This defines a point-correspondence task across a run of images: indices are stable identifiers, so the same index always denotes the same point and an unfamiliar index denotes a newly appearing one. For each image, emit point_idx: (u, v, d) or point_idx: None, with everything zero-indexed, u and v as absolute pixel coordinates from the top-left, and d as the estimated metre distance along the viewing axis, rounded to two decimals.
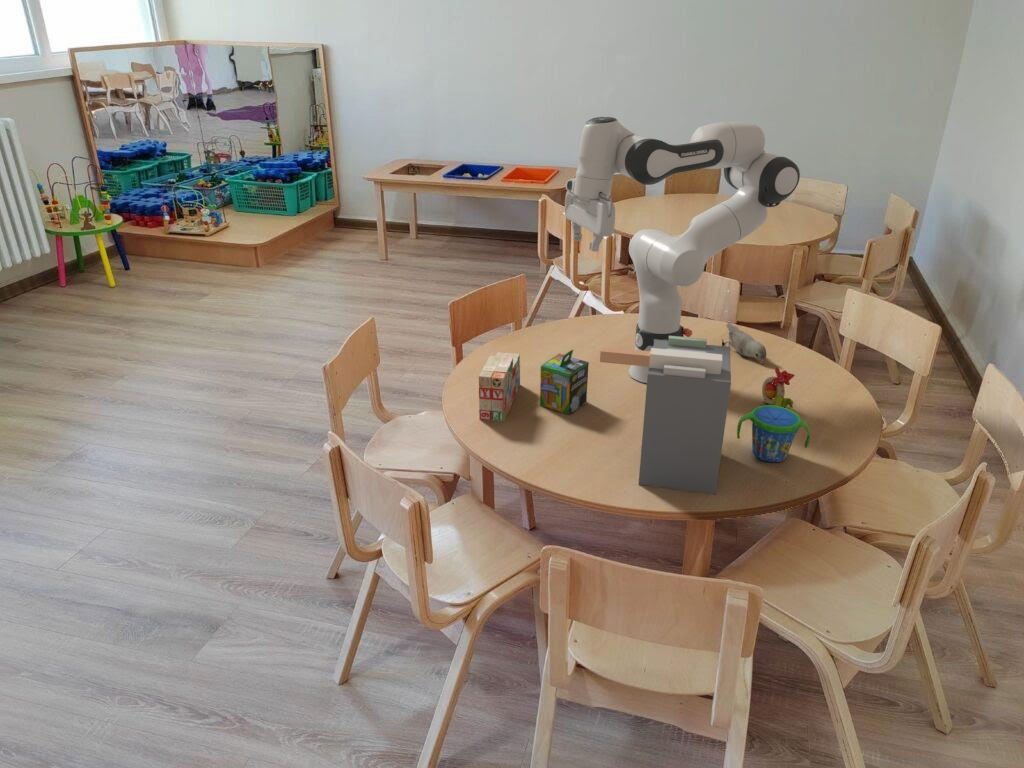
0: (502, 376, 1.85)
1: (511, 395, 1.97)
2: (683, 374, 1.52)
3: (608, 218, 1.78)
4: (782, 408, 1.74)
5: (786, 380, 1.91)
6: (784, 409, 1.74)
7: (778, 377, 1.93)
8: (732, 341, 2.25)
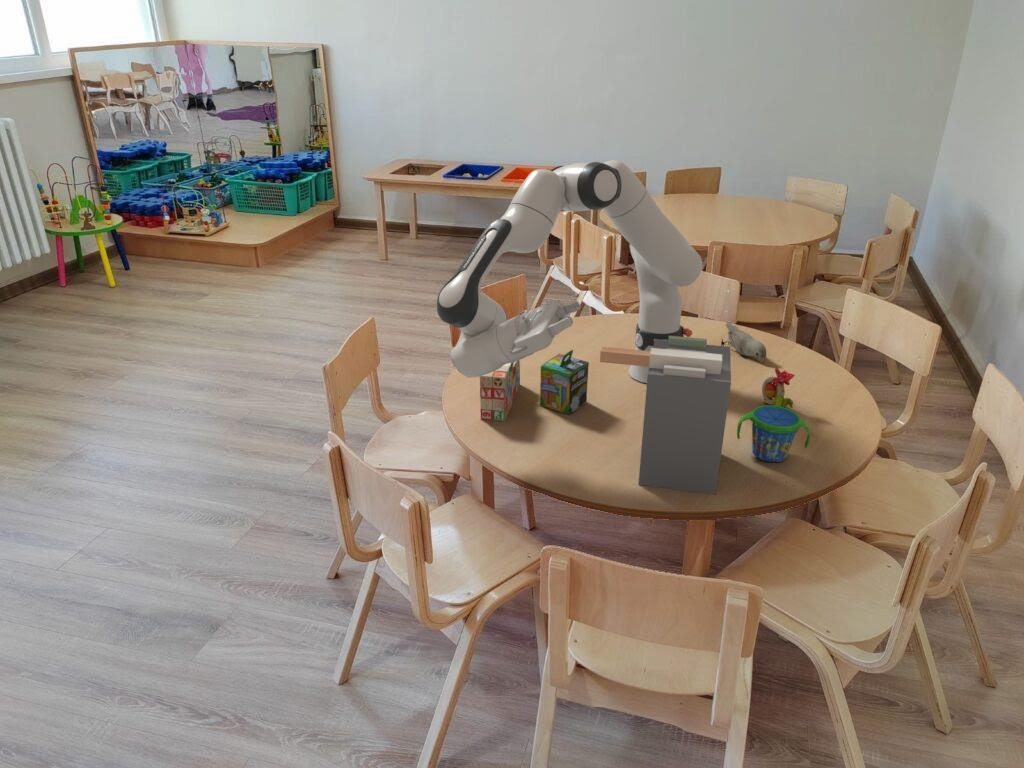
0: (503, 375, 1.85)
1: (512, 394, 1.98)
2: (683, 374, 1.52)
3: (528, 347, 1.56)
4: (782, 408, 1.74)
5: (786, 380, 1.91)
6: (784, 409, 1.74)
7: (778, 377, 1.93)
8: (732, 340, 2.25)
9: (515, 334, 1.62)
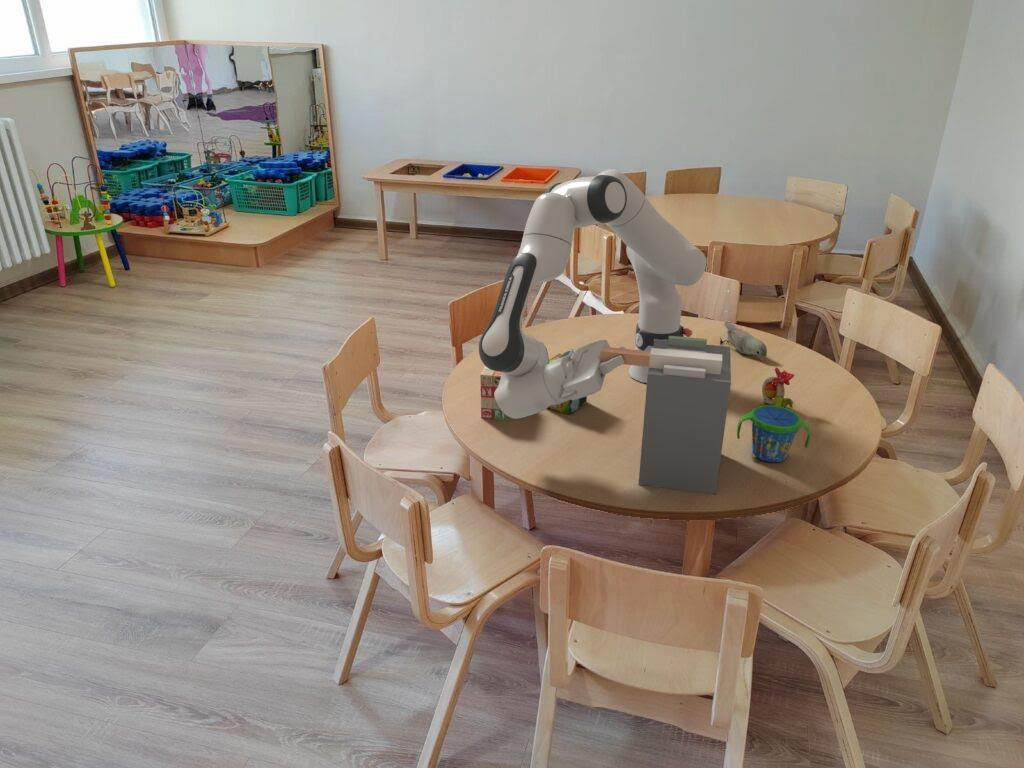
0: None
1: None
2: (683, 374, 1.52)
3: (578, 391, 1.53)
4: (782, 408, 1.74)
5: (786, 380, 1.91)
6: (784, 409, 1.74)
7: (778, 377, 1.93)
8: (731, 339, 2.26)
9: (563, 377, 1.59)
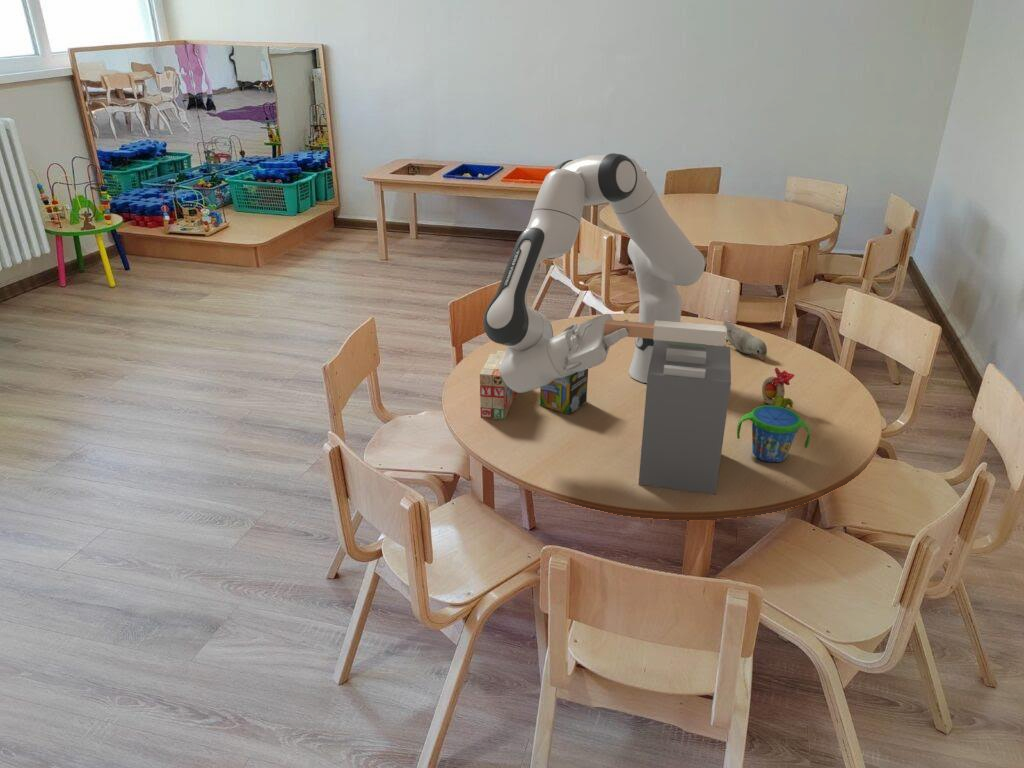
0: None
1: (511, 393, 1.98)
2: (683, 374, 1.52)
3: (583, 363, 1.53)
4: (782, 408, 1.74)
5: (786, 380, 1.91)
6: (784, 409, 1.74)
7: (778, 377, 1.93)
8: (731, 339, 2.26)
9: (567, 349, 1.59)
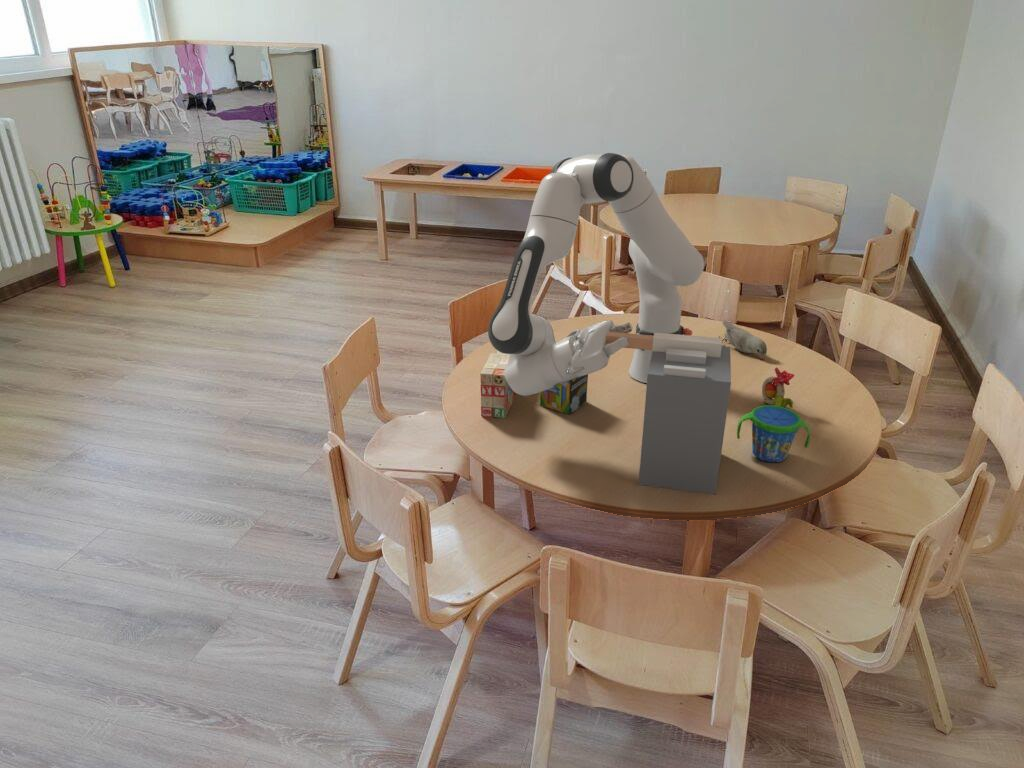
0: None
1: (512, 392, 1.99)
2: (683, 374, 1.52)
3: (585, 367, 1.59)
4: (782, 408, 1.74)
5: (786, 380, 1.91)
6: (784, 409, 1.74)
7: (778, 377, 1.93)
8: (731, 338, 2.27)
9: (570, 354, 1.65)
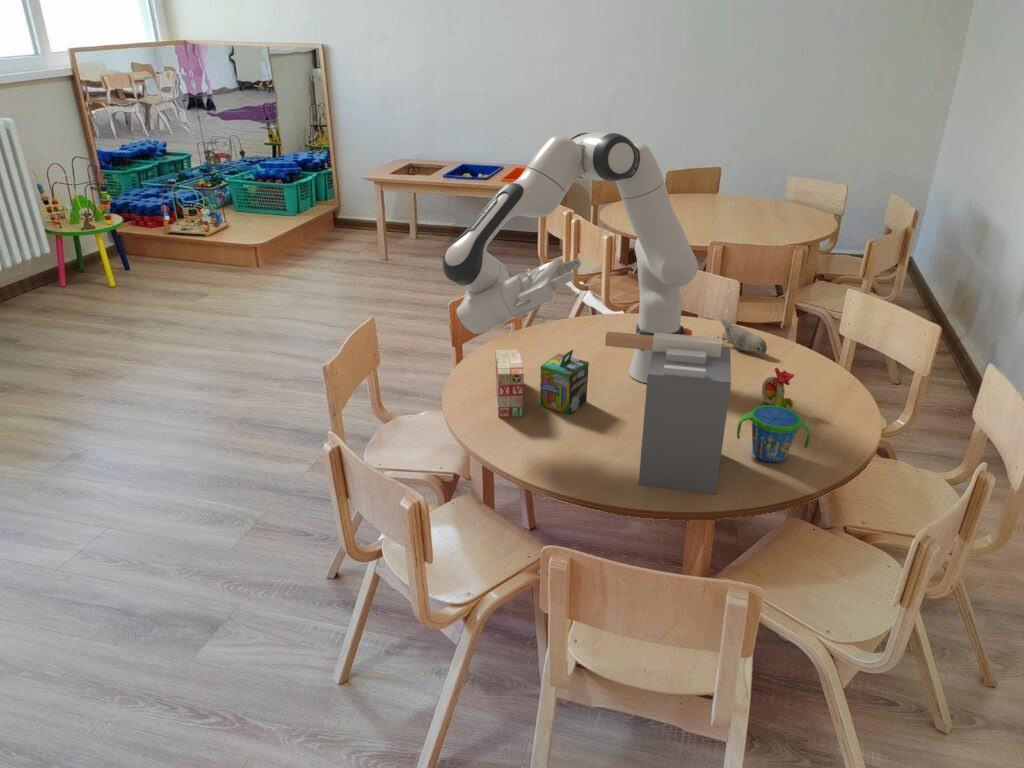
0: (521, 371, 1.87)
1: None
2: (683, 374, 1.52)
3: (531, 300, 1.63)
4: (782, 408, 1.74)
5: (786, 380, 1.91)
6: (784, 409, 1.74)
7: (778, 377, 1.93)
8: (730, 337, 2.28)
9: (519, 289, 1.69)
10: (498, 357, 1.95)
